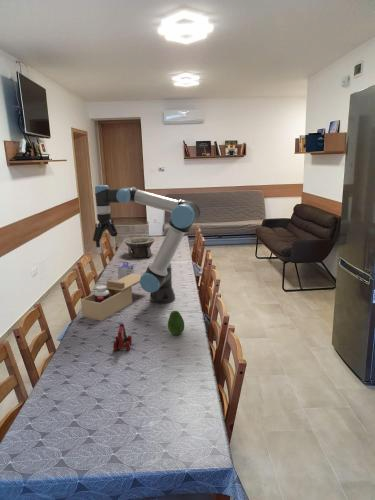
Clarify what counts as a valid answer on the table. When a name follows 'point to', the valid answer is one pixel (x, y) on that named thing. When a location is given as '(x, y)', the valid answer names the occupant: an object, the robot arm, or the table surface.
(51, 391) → the table surface
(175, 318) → the fruit
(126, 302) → the mailer box
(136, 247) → the bowl
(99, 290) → the pill bottle
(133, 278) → the lid
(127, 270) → the ink cartridge box
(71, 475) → the table surface
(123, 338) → the red pointed piece
